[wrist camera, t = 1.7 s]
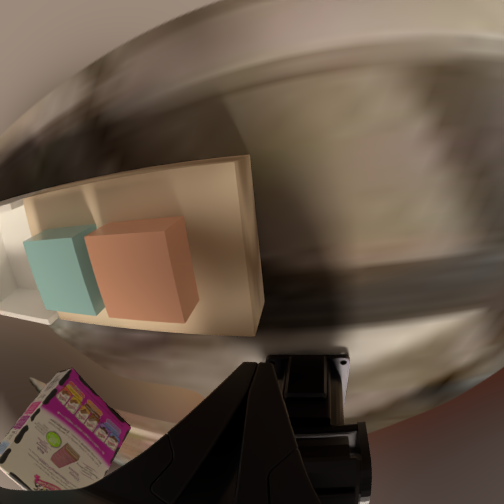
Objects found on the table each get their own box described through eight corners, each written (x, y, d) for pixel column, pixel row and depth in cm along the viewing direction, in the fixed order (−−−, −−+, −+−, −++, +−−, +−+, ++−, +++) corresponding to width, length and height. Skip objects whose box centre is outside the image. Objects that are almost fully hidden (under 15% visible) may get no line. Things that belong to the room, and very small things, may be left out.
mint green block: (115, 296, 19) (96, 316, 17) (65, 293, 20) (46, 309, 18) (95, 223, 17) (71, 237, 15) (45, 229, 18) (22, 241, 16)
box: (83, 295, 25) (50, 325, 20) (20, 289, 27) (-9, 311, 23) (53, 186, 21) (10, 203, 17) (-6, 203, 23) (-41, 218, 19)
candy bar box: (56, 371, 32) (-14, 457, 17) (72, 365, 30) (-5, 462, 15) (112, 429, 35) (60, 517, 20) (133, 428, 33) (79, 527, 18)
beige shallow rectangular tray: (264, 301, 22) (254, 336, 18) (86, 295, 25) (60, 318, 21) (249, 154, 18) (234, 161, 14) (56, 185, 21) (22, 198, 18)
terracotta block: (199, 300, 18) (185, 323, 16) (128, 297, 19) (108, 317, 17) (183, 215, 16) (164, 231, 14) (108, 222, 17) (84, 236, 15)
